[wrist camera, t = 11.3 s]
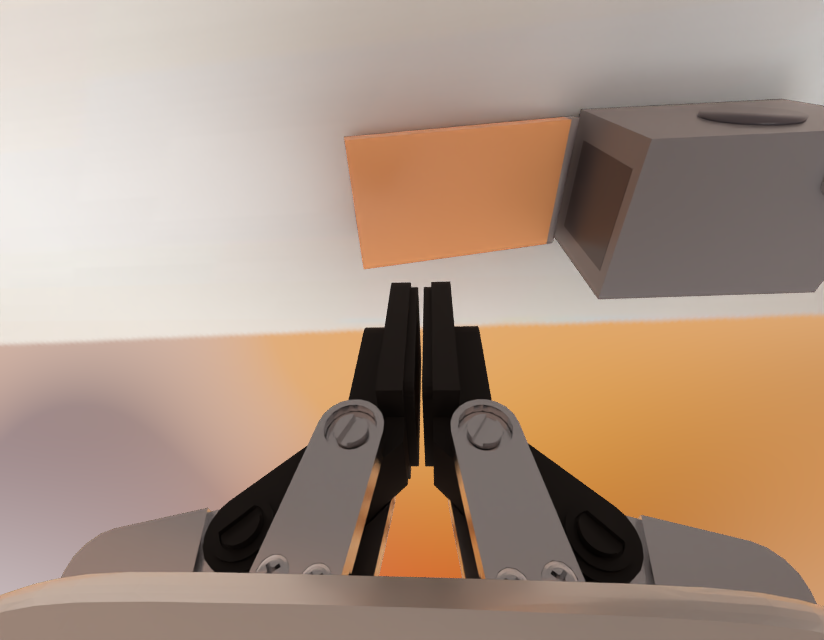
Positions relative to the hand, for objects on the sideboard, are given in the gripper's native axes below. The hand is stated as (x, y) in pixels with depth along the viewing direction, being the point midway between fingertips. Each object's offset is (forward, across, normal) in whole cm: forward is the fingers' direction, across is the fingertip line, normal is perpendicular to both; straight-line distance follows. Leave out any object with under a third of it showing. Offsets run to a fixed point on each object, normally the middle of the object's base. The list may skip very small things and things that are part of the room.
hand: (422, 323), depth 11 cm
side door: (+12, -7, 0) cm, 14 cm away
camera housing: (+13, -13, 0) cm, 19 cm away
